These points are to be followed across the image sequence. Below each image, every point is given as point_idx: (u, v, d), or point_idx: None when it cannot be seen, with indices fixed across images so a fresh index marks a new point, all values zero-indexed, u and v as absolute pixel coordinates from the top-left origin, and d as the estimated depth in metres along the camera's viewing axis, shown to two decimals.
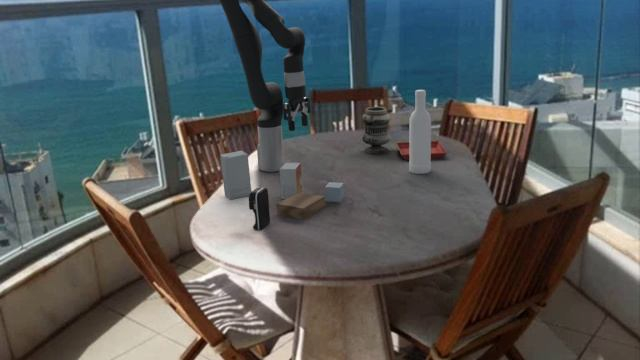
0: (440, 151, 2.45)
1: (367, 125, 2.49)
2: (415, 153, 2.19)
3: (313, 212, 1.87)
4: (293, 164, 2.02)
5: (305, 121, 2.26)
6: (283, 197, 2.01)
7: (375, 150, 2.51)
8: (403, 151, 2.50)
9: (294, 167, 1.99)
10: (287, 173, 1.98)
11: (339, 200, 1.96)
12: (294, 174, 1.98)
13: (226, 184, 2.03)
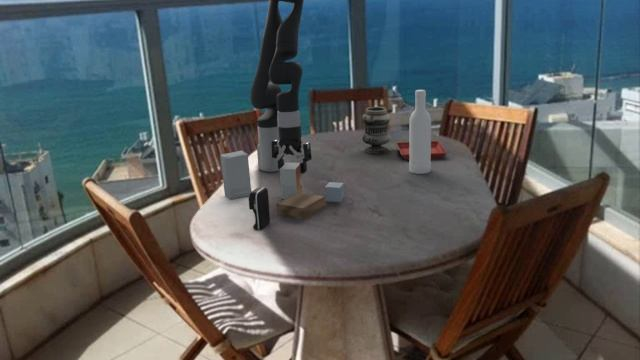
0: (440, 151, 2.45)
1: (367, 125, 2.49)
2: (415, 153, 2.19)
3: (313, 212, 1.87)
4: (293, 164, 2.02)
5: None
6: (283, 197, 2.01)
7: (375, 150, 2.51)
8: (403, 151, 2.50)
9: (294, 167, 1.99)
10: (287, 173, 1.98)
11: (339, 200, 1.96)
12: (294, 174, 1.98)
13: (226, 184, 2.03)
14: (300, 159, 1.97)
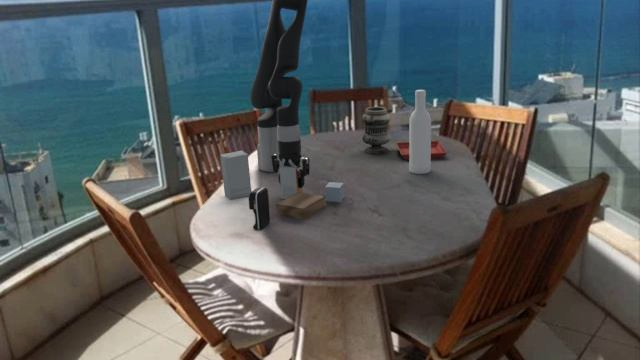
0: (440, 151, 2.45)
1: (367, 125, 2.49)
2: (415, 153, 2.19)
3: (313, 212, 1.87)
4: None
5: None
6: (283, 197, 2.01)
7: (375, 150, 2.51)
8: (403, 151, 2.50)
9: None
10: (287, 173, 1.98)
11: (339, 200, 1.96)
12: (294, 174, 1.98)
13: (226, 184, 2.03)
14: (298, 174, 1.99)
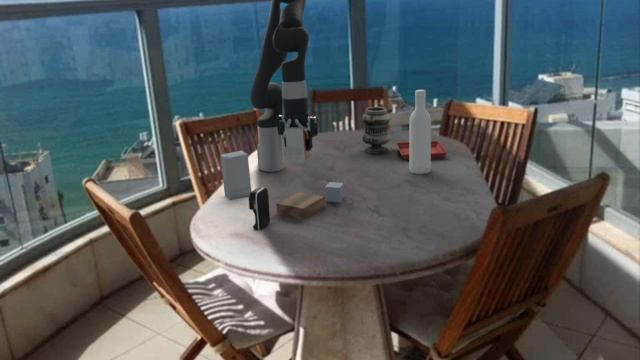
0: (440, 151, 2.45)
1: (367, 125, 2.49)
2: (415, 153, 2.19)
3: (313, 212, 1.87)
4: None
5: None
6: (289, 161, 1.85)
7: (375, 150, 2.51)
8: (403, 151, 2.50)
9: None
10: (293, 134, 1.82)
11: (339, 200, 1.96)
12: (301, 135, 1.82)
13: (226, 184, 2.03)
14: (305, 134, 1.83)
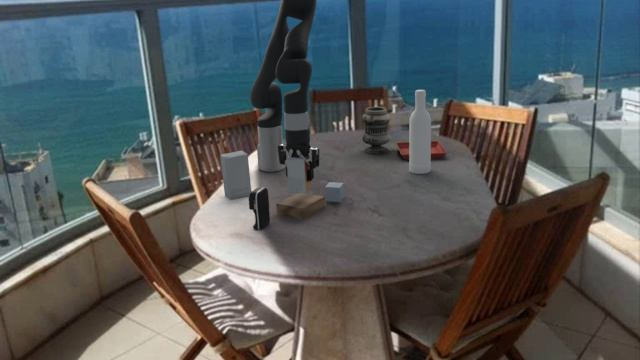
0: (440, 151, 2.45)
1: (367, 125, 2.49)
2: (415, 153, 2.19)
3: (313, 212, 1.87)
4: None
5: None
6: (290, 191, 1.84)
7: (375, 150, 2.51)
8: (403, 151, 2.50)
9: None
10: (295, 165, 1.82)
11: (339, 200, 1.96)
12: (302, 166, 1.81)
13: (226, 184, 2.03)
14: (307, 165, 1.83)
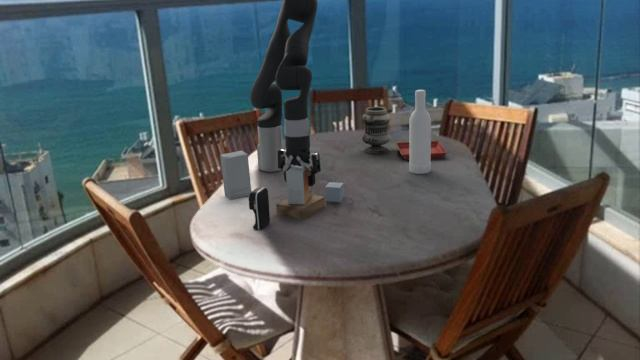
0: (440, 151, 2.45)
1: (367, 125, 2.49)
2: (415, 153, 2.19)
3: (313, 212, 1.87)
4: (301, 166, 1.87)
5: None
6: (290, 202, 1.86)
7: (375, 150, 2.51)
8: (403, 151, 2.50)
9: (302, 170, 1.83)
10: (294, 176, 1.82)
11: (339, 200, 1.96)
12: (301, 178, 1.82)
13: (226, 184, 2.03)
14: (308, 171, 1.83)
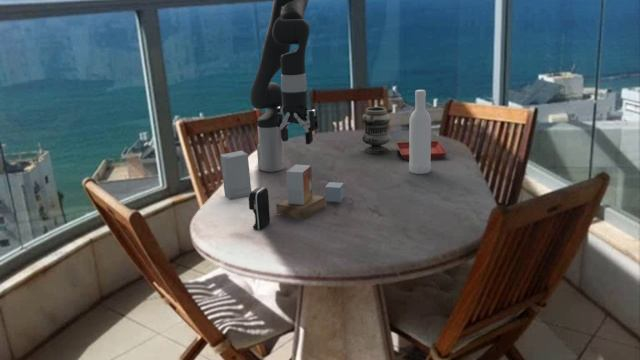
0: (440, 151, 2.45)
1: (367, 125, 2.49)
2: (415, 153, 2.19)
3: (313, 213, 1.87)
4: (302, 167, 1.87)
5: (287, 134, 1.86)
6: (289, 202, 1.86)
7: (375, 150, 2.51)
8: (403, 151, 2.50)
9: (302, 170, 1.83)
10: (294, 176, 1.83)
11: (339, 200, 1.96)
12: (301, 178, 1.82)
13: (226, 184, 2.03)
14: (305, 128, 1.79)
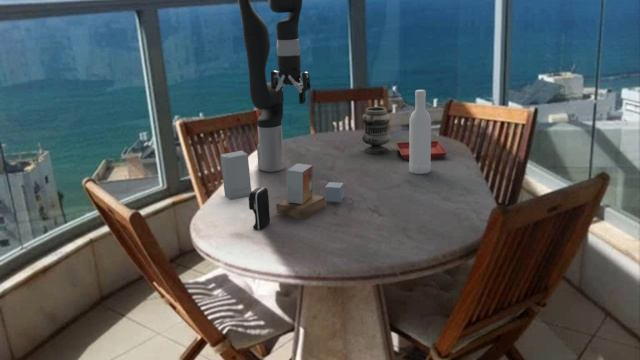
0: (440, 151, 2.45)
1: (367, 125, 2.49)
2: (415, 153, 2.19)
3: (313, 213, 1.87)
4: (303, 166, 1.87)
5: (282, 96, 2.04)
6: (288, 200, 1.86)
7: (375, 150, 2.51)
8: (403, 151, 2.50)
9: (302, 170, 1.83)
10: (294, 175, 1.83)
11: (339, 200, 1.96)
12: (301, 177, 1.82)
13: (226, 184, 2.03)
14: (299, 89, 1.98)
